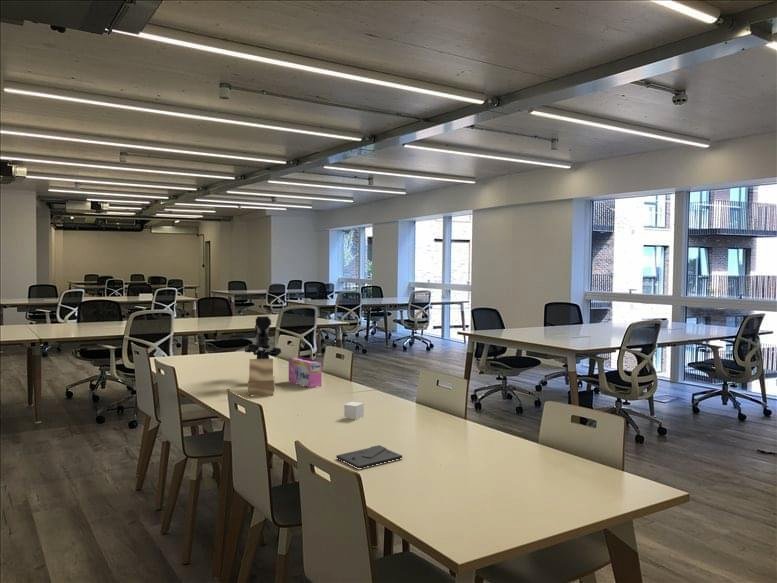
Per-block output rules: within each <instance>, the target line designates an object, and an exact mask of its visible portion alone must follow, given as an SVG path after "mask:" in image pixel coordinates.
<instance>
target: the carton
mask: <svg viewBox="0 0 777 583" xmlns="http://www.w3.org/2000/svg"><path fill="white" fill-rule="evenodd" d="M275 382H276V381H275V375H273V381H249V378H248V379H247V393H248V397H252V396H251V395H270V396H274V394H273V393H275V388H276V387H275Z"/></svg>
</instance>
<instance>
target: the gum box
mask: <svg viewBox="0 0 777 583" xmlns="http://www.w3.org/2000/svg"><path fill="white" fill-rule="evenodd" d="M322 365H323V364H322V361H321V360H316V359H312V358H307V357H305V356H304V357H303V356H297V357H293V358H291V357H288V382H289V381H290V382H289V383H292V382H293V383H292V384H295V383H297V384H296V385H298V384H300V385H299V386H301V385H304V386H307V387H306V388H308V387H313V388H317V387H316V386H320V387H322V374H323V373H322ZM304 386H303V387H304Z"/></svg>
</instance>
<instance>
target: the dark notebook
mask: <svg viewBox="0 0 777 583" xmlns="http://www.w3.org/2000/svg"><path fill="white" fill-rule="evenodd" d="M335 457H336V458H338V459H340V460H342V461H345V462H347V463H349V464H351V465H353V466H355V467H357V468H363V467H367V466H372V465H376V464H380V463H384V462H388V461H392V460H396V459H400V458H402V459H403V455H402V454H399V453H397V452H395V451H394V450H393V451H392V450H390V449H388V448H387V447H385V446H382V445H380V444H377V445H375V446H374V445H373V446H370V447H367V448H363V449H359V450H354V451H350V452H346V453H342V454H341V453H340V454H337V455H336V456H335Z"/></svg>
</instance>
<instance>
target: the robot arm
mask: <svg viewBox="0 0 777 583" xmlns="http://www.w3.org/2000/svg"><path fill="white" fill-rule="evenodd" d="M271 326H272V320H271V319H270V317H269V316H268V315H267V316H266V315H265V316H263V315H262V316H259V315H258V316H256V318H255V325H254V336H255V340H256V343H255V344H252V343H248V344H247V345H246V346H245V347H244V353H249V354H250V353H253V355H254V356H256V359H270V356H272V357H277V356H279V355H281V354H282V349H281V348H279V347H276V346H275V347H272V349H271V347H270V346H271V345H270V344H269V343H270V342H269V341H270V338H269V336H270V327H271Z"/></svg>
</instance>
